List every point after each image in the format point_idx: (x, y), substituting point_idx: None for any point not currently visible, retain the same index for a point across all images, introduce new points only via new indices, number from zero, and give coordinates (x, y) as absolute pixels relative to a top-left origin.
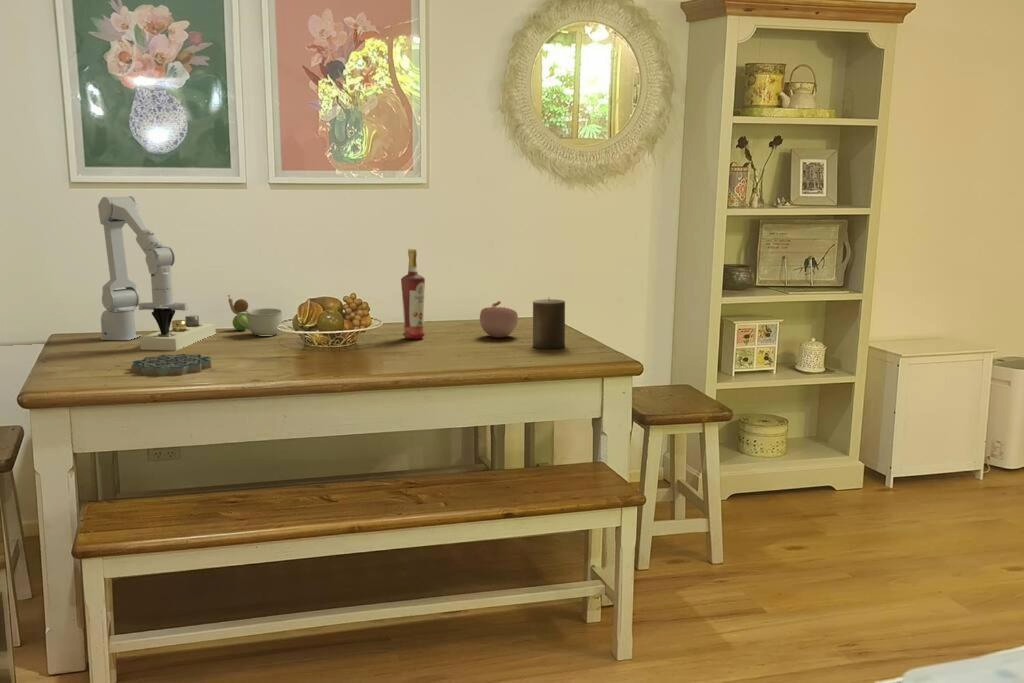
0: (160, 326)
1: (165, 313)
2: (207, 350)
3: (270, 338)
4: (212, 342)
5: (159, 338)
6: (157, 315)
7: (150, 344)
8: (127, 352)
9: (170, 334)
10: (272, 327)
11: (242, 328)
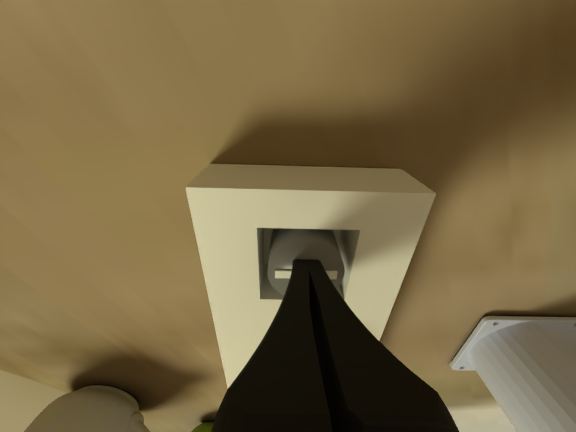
0: (324, 291)
1: (239, 410)
2: (61, 183)
3: (53, 372)
4: (177, 319)
5: (299, 190)
6: (361, 380)
7: (354, 177)
8: (461, 77)
9: (270, 270)
10: (35, 418)
11: (197, 427)
